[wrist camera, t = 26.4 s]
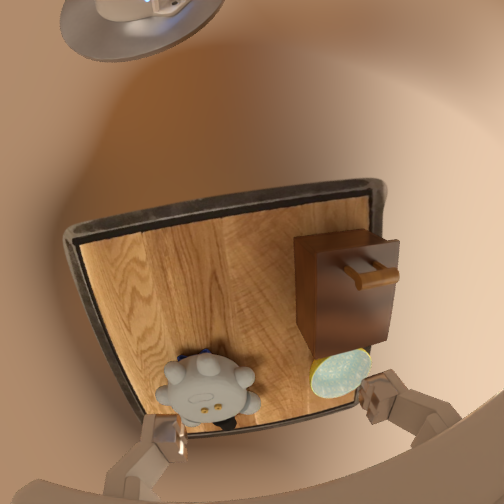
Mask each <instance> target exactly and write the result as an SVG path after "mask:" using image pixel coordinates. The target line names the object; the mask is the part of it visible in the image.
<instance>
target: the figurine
mask: <svg viewBox="0 0 504 504" xmlns="http://www.w3.org/2000/svg"><path fill="white" fill-rule="evenodd" d="M177 359H178V362H177V361H170V362H168V363H167V364H166V365H165V367H164V373H165V376H166V377H167V379H168V385H164V386H161V387H159V388H158V389H157V390H156V393H155V396H156V399H157V401H158V402H159V403H160V404H162V405H166V406H171V407H172V408H173V409H174V411H176V412H177V413H178V414H179V415H180V417H181V422H182V423H183V424H184V425H186V426H188V427H196V426H198V425H200V424H201V423H211V422H212V423H213V424H214V425H216V426H219V427H221V428H222V429H223V430H224V431H230V430H233V429H234V428H235V427H236V424H237V422H236V420H235V415H236V414H238V413H239V412H240V413H242V414H247V415H249V414H254V413H255V412H257V411H258V410H259V409H260V407H261V400H260V398H259V396H258V395H257V394H255V393H253V392H250V391H247V390H246V388H247V387H249V386H251V385H252V384H253V383H254V381H255V374H254V372H253V370H252V369H251V368H249V367H239V366H238V365H237V364H236V363H235V362H233V361H232V360H230V359H228V358H226V357H223V356H220V355H214V354H211V352H210V351H209V350H208V349H204V350H202V351H201V352H200V353H199V354H196V355H192V356H189V357H187V356H184V355H180V356H178V357H177Z"/></svg>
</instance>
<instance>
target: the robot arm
mask: <svg viewBox="0 0 504 504" xmlns="http://www.w3.org/2000/svg"><path fill="white" fill-rule="evenodd" d="M190 1H191V0H95V5H96V9H97V12H98V13H99V14H100V15H101V16H102V17H103V18H105V19H107V20H110V21H116V22H127V21H134V20H139V19H142V18H146V17H151V16H158V17H170V16H173V15H175V14H176V13H178V12H179V11H180V10H181V9H182V8H183V7H184V6H185V5H186V4H187V3H188V2H190ZM175 3H177V5H173V4H175ZM361 386H362V388H361V389H360V391H359V395H358V397H359V402H360V405H361V407H362V408H363V409H364V410H367V415H366V416H367V417H368V419H369V421H370V422H371V424H372V425H373V424H376V423H379V422H381V421H384V420H387V419H388V420H389V421H390V422H392V423H394V424H396V425H397V426H399V427H401V428H402V429H404V430H406V431H408V432H410V433H411V434H413V435H415V436H416V437H415V438H414V440H413V442H412V444H411V447H412V449H410V450H408V451H406V452H404V453H402V454H400V455H398V456H395V457H393V458H391V459H389V460H386V461H384V462H382V463H379V464H377V465H374V466H372V467H369V468H367V469H364V470H362V471H359V472H356V473H354V474H351V475H348V476H345V477H342V478H339V479H335V480H332V481H329V482H325V483H322V484H318V485H315V486H311V487H307V488H303V489H299V490H295V491H289V492H285V493H280V494H274V495H269V496H262V497H256V498H248V499H240V500H230V501H217V502H190V503H189V502H185V503H184V502H161V499H160V497H158V496H157V495H156V494H155V493H154V492H153V491H152V490H151V489H152V488H153V486H154V485H155V483H156V482H157V481H158V479H159V478H160V476H161V475H162V474H163V472H164V471H165V469H166V468H167V466H168V465H169V463H177V462H187V453H188V452H187V449H186V447H185V445H186V444H187V442H188V437H187V430H186V427H185V425H184V424H183V423H182V422H181V417H180V415H179V414H146V415H145V416H144V420H143V426H142V432H141V438H140V443H136V444H135V445H134V446H133V447H132V448H131V449H130V450H129V451H128V452H127V453H126V454H125V455H124V456H123V457H122V458H121V459H120V460H119V461H118V462H117V463H116V464H115V465H114V466H113V467H112V468H111V469H110V470H109V471H108V472H107V475H106V481H105V486H104V492H103V495H100V494H94V493H90V492H85V491H81V490H77V489H73V488H69V487H65V486H61V485H58V484H54V483H51V482H48V481H45V480H42V479H36V480H34V481H32V482H30V483H29V484H27V485H25V486H24V487H23V488H21V489H20V490H18V491H17V492H16V494H15V495H14V497H13V499H12V502H11V503H10V504H504V388H503V389H502V390H501V391H499V392H498V393H497V394H496V395H495V396H493V397H492V398H491V399H489V400H488V401H487V402H486V403H484V404H483V405H482V406H480V407H479V408H477V409H476V410H475V411H473V412H472V413H470V414H469V415H468V416H466V417H465V418H463V419H462V418H461V417H460V415H459V414H458V413H457V412H456V410H455V409H454V408H453V407H452V406H451V404H450V403H448V402H445V401H442V400H439V399H436V398H434V397H431V396H428V395H425V394H423V393H420V392H417V391H415V390H412V389H410V390H408V388H407V387H406V386H405V385H404V383H403V382H402V381H401V380H400V378H399V377H398V376H397V375H396V373H395V372H394V371H393V370H392V369H390V370H387V371H384V372H382V373H378V374H376V375H372V376H370V377H367V378H364V379H362V381H361Z"/></svg>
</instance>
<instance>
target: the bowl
mask: <svg viewBox="0 0 504 504" xmlns="http://www.w3.org/2000/svg"><path fill="white" fill-rule="evenodd" d="M370 369H371V357H370V355H369V354H368V353H367V352H366V351H365V350H364V349H362V348H360V349H356V350H353V351H349V352H345V353H341V354H337V355H333V356H329V357H325V358H321V359H317V360H315V359H314V361H313V363H312V365H311V368H310V372H309V381H310V386H311V389H312V391H313V392H314V393H315V394H316V395H317V396H319V397H322V398H336V397H340V396H343V395H345V394H347V393H349V392H351V391H352V390H354V389H355V388H357V387H358V386H359V385H360V384H361V381H362V379H364V378H366V377H367V375H368V374H369V371H370Z"/></svg>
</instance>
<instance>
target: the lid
mask: <svg viewBox="0 0 504 504" xmlns="http://www.w3.org/2000/svg"><path fill="white" fill-rule="evenodd" d="M399 244H400V241H399V240H397V239H395V240H388V241H381V242H374V243H367V244H360V245H353V246H346V247H339V248H332V249H324V250H317V251H314V256H315V319H314V354H313V357H314V359H315V360H317V359H321V358H325V357H329V356H333V355H337V354H341V353H345V352H349V351H353V350H356V349H360V348H363V347H367V346H370V345H374V344H377V343H380V342H383V341H386V340H387V337H388V332H389V326H390V320H391V314H392V307H393V300H394V294H395V286H396V283H397V282H398V281H399V271H398V268H397V267H398V258H399V257H398V256H399Z"/></svg>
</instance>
